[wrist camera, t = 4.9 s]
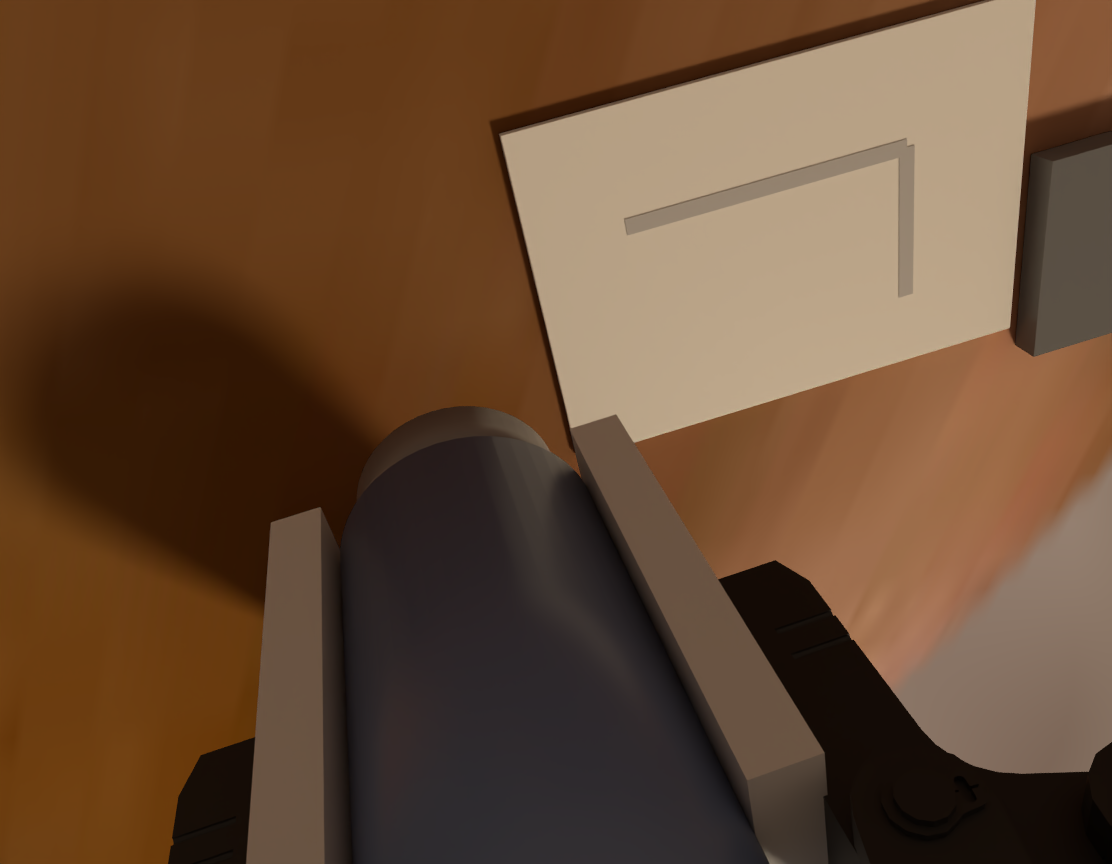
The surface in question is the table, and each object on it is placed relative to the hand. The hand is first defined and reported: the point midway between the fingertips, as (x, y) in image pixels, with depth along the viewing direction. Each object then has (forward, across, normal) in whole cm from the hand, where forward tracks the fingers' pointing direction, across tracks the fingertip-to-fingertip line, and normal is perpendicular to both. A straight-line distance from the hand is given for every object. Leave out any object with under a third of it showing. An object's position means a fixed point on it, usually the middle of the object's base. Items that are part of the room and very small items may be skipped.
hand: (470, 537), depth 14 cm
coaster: (+13, +24, -6) cm, 28 cm away
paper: (+14, +12, -3) cm, 18 cm away
